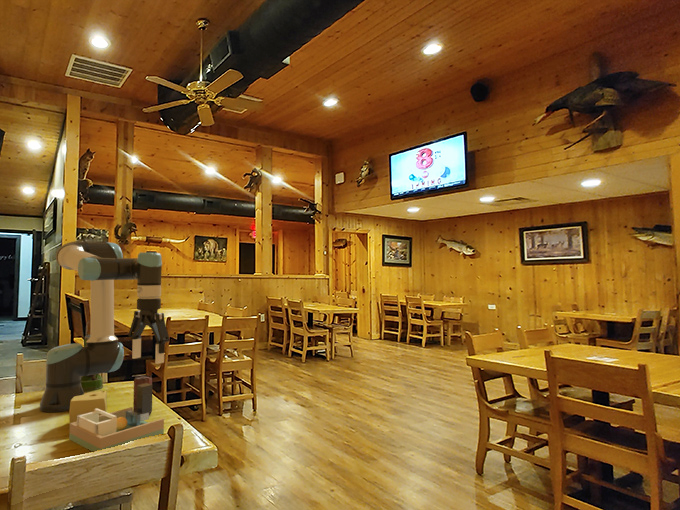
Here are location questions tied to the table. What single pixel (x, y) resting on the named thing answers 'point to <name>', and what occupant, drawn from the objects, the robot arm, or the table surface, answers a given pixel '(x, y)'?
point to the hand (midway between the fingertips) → (147, 360)
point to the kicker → (141, 405)
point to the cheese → (87, 404)
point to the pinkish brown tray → (118, 438)
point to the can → (139, 381)
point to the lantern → (94, 380)
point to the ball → (121, 423)
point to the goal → (97, 422)
